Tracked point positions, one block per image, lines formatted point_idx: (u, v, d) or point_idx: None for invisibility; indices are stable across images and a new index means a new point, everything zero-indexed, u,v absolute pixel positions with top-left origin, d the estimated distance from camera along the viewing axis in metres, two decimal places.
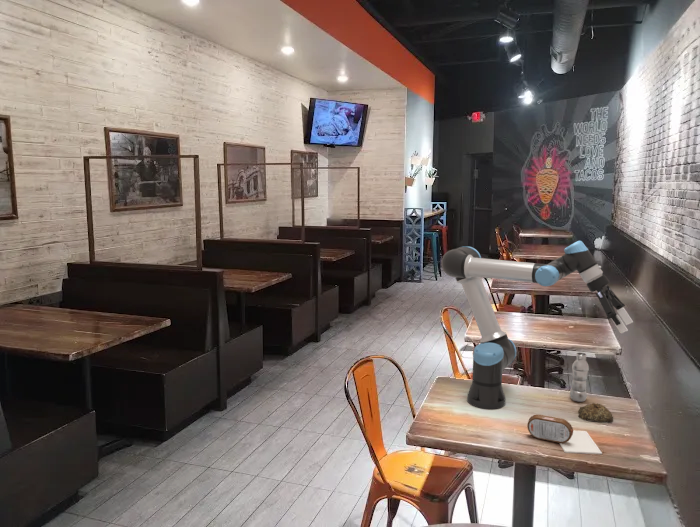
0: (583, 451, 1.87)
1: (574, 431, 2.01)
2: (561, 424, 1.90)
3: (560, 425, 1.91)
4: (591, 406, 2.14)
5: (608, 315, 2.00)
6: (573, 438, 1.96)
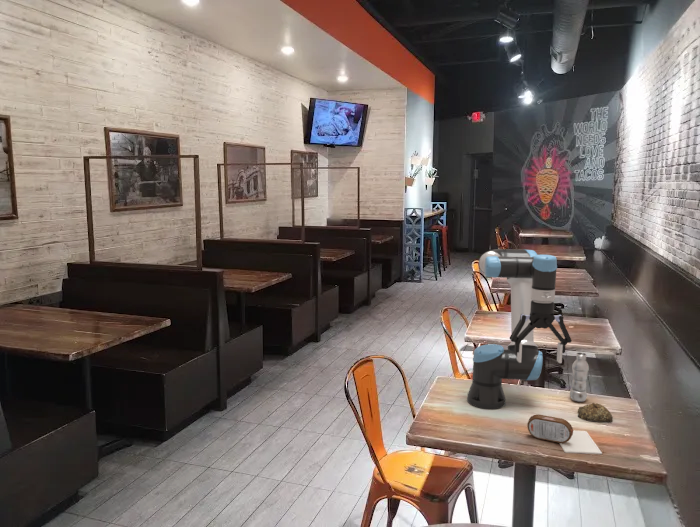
0: (583, 451, 1.87)
1: (574, 431, 2.01)
2: (561, 424, 1.90)
3: (560, 425, 1.91)
4: (591, 406, 2.15)
5: (510, 337, 1.91)
6: (573, 438, 1.96)
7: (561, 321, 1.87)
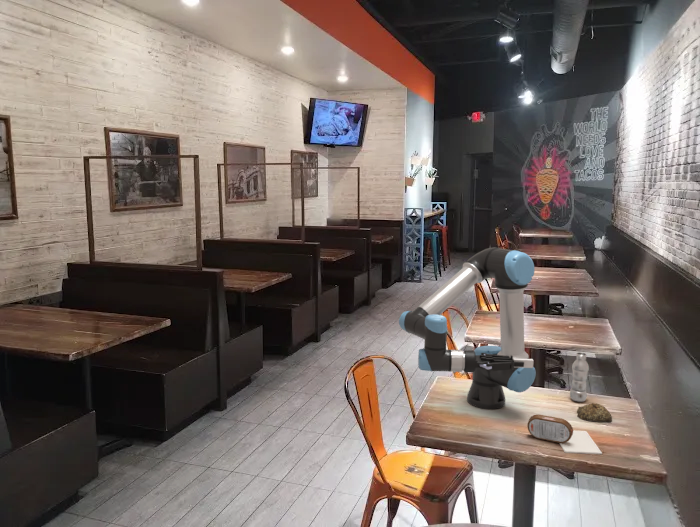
0: (583, 451, 1.87)
1: (574, 431, 2.01)
2: (561, 424, 1.90)
3: (560, 425, 1.91)
4: (590, 406, 2.15)
5: None
6: (573, 438, 1.96)
7: None
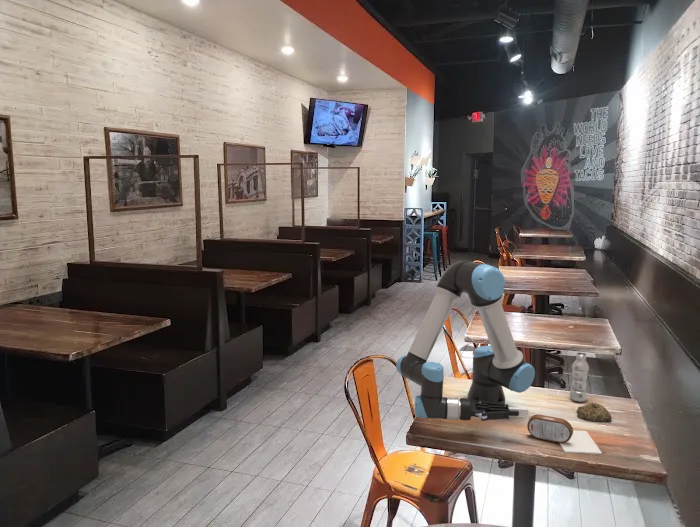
0: (583, 451, 1.87)
1: (574, 431, 2.01)
2: (561, 424, 1.90)
3: (560, 425, 1.91)
4: (589, 406, 2.15)
5: None
6: (573, 438, 1.96)
7: None
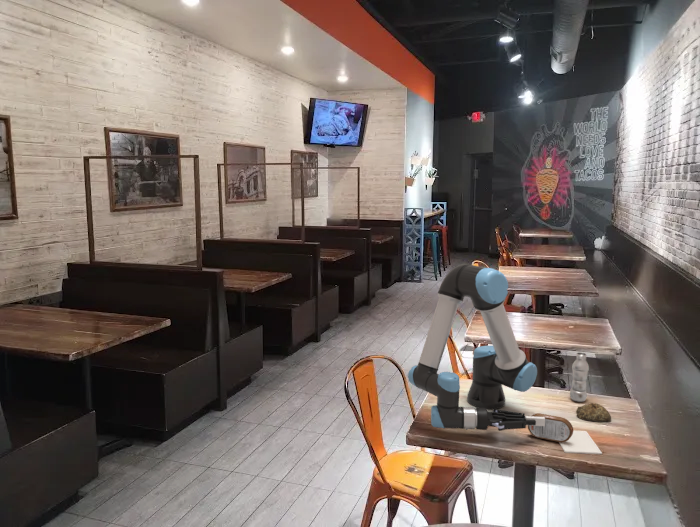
0: (583, 451, 1.87)
1: (574, 431, 2.01)
2: (561, 422, 1.91)
3: (560, 423, 1.91)
4: (589, 406, 2.15)
5: None
6: (573, 438, 1.96)
7: None
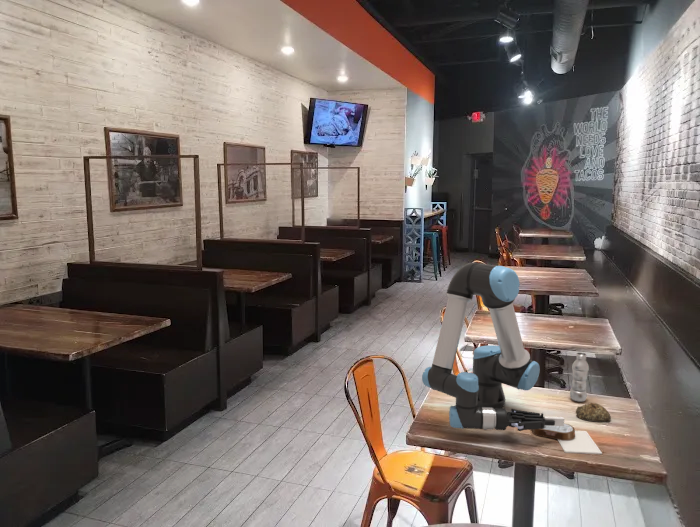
0: (583, 451, 1.87)
1: None
2: (566, 424, 2.00)
3: (565, 425, 2.00)
4: (589, 406, 2.15)
5: None
6: (573, 438, 1.96)
7: None
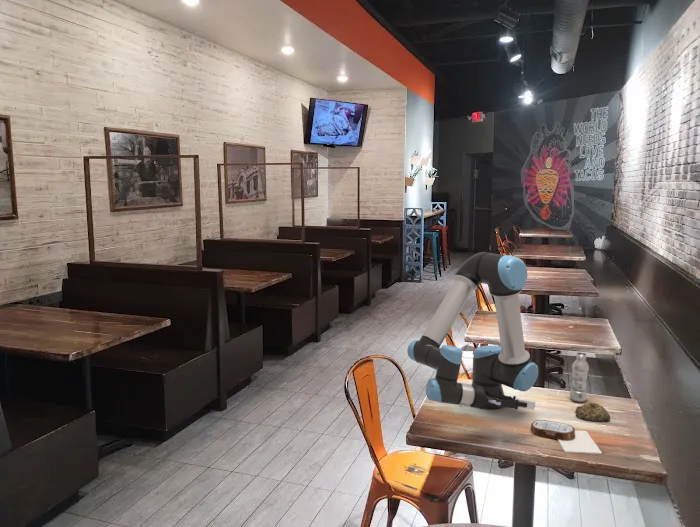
0: (583, 451, 1.87)
1: None
2: (566, 424, 2.00)
3: (565, 425, 2.00)
4: (588, 406, 2.15)
5: None
6: (573, 438, 1.96)
7: None
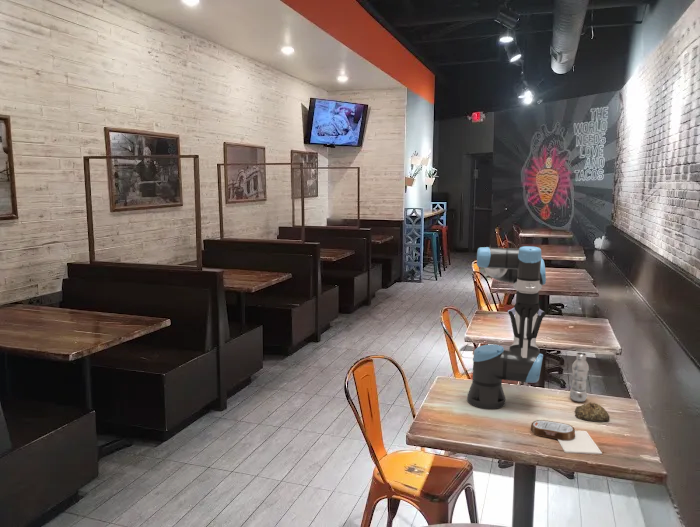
0: (583, 451, 1.87)
1: None
2: (566, 424, 2.00)
3: (565, 425, 2.00)
4: (587, 406, 2.15)
5: (514, 333, 1.97)
6: (573, 438, 1.96)
7: (541, 316, 1.93)
